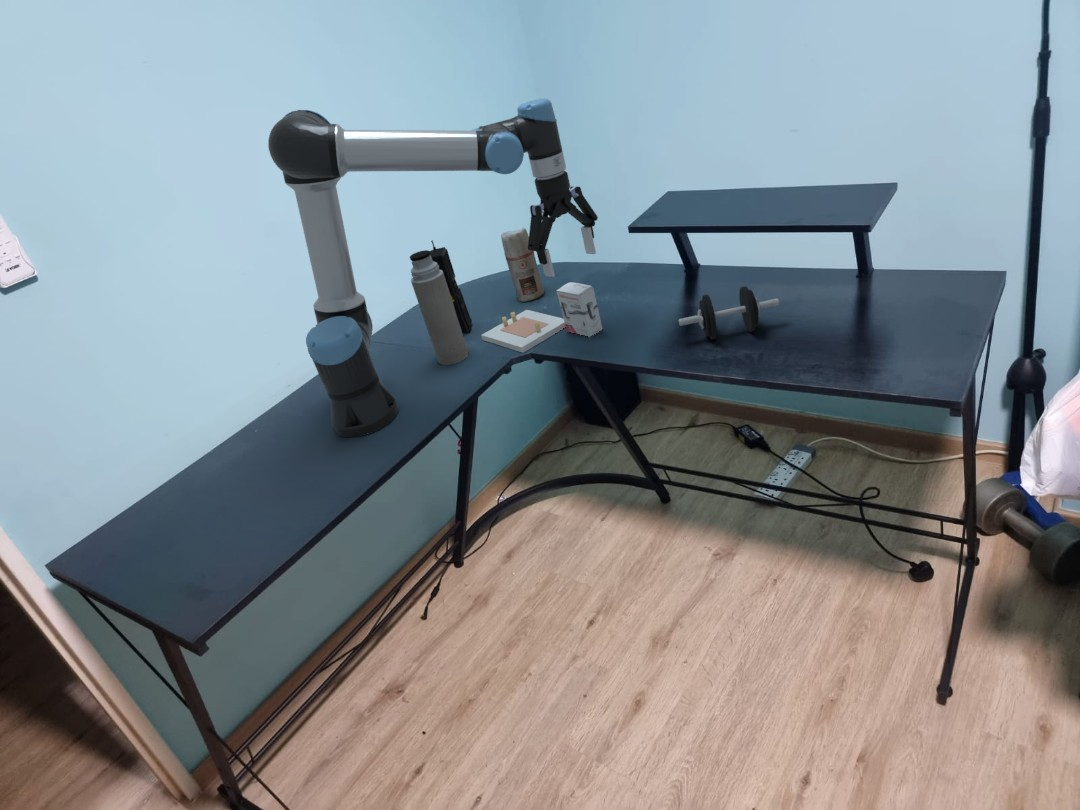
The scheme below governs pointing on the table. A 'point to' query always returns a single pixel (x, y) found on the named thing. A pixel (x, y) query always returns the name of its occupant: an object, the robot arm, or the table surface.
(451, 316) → the thermos bottle
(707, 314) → the dumbbell
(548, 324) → the pin plate
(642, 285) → the table surface
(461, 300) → the portable radio
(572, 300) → the ink box
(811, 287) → the table surface
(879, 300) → the table surface
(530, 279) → the spray can
